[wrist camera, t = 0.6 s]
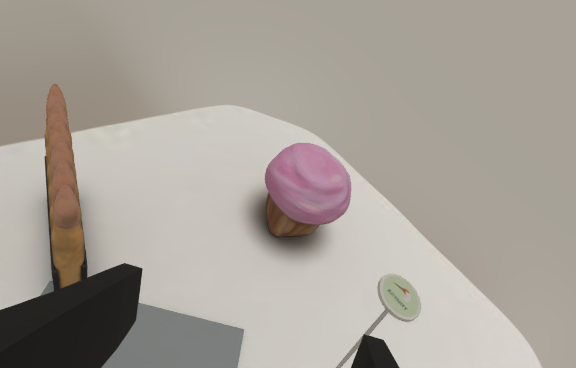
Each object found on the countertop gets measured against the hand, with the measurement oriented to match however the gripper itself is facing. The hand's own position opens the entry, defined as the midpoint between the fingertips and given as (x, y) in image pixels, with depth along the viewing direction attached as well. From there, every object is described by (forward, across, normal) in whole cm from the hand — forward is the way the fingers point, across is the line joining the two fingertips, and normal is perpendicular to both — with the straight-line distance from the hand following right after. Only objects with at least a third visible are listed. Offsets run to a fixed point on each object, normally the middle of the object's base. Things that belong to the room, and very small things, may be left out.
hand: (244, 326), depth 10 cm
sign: (+21, -11, +14) cm, 28 cm away
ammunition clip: (+13, +17, +9) cm, 23 cm away
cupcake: (+26, +1, +8) cm, 27 cm away
